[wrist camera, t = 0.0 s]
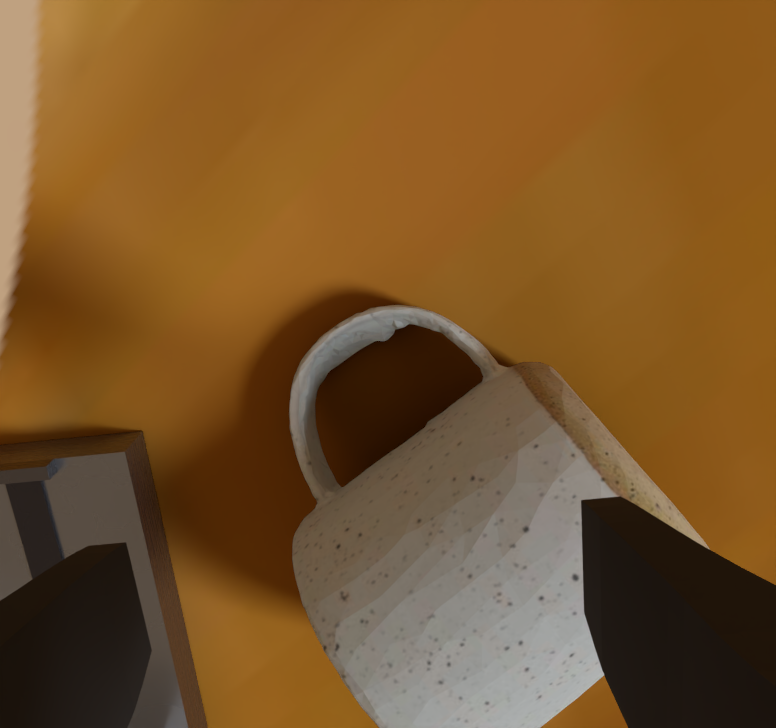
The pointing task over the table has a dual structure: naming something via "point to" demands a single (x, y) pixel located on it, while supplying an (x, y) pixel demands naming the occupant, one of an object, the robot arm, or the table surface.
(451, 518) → the ceramic mug
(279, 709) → the table surface
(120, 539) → the console
